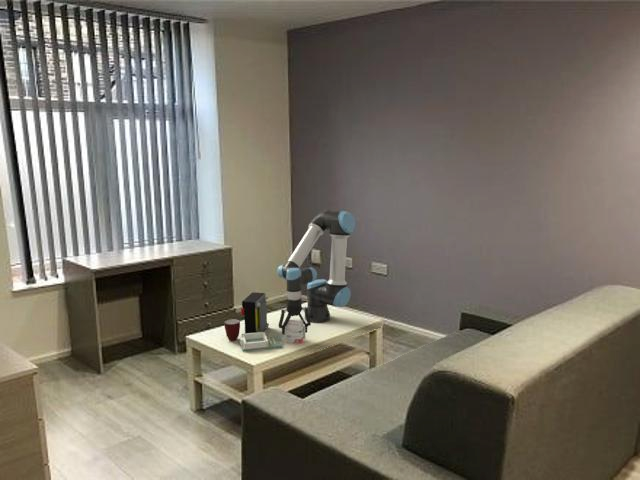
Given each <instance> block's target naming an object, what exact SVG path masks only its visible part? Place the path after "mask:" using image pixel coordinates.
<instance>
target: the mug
mask: <svg viewBox="0 0 640 480" xmlns="http://www.w3.org/2000/svg"><path fill="white" fill-rule="evenodd" d="M224 330H225V334H226V338H227V339H228V340H229V341H230V342H235V341H237V340H238V339H239V335H240V330H241V320H239V319H236V318H232V319H227V320H225V321H224Z"/></svg>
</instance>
